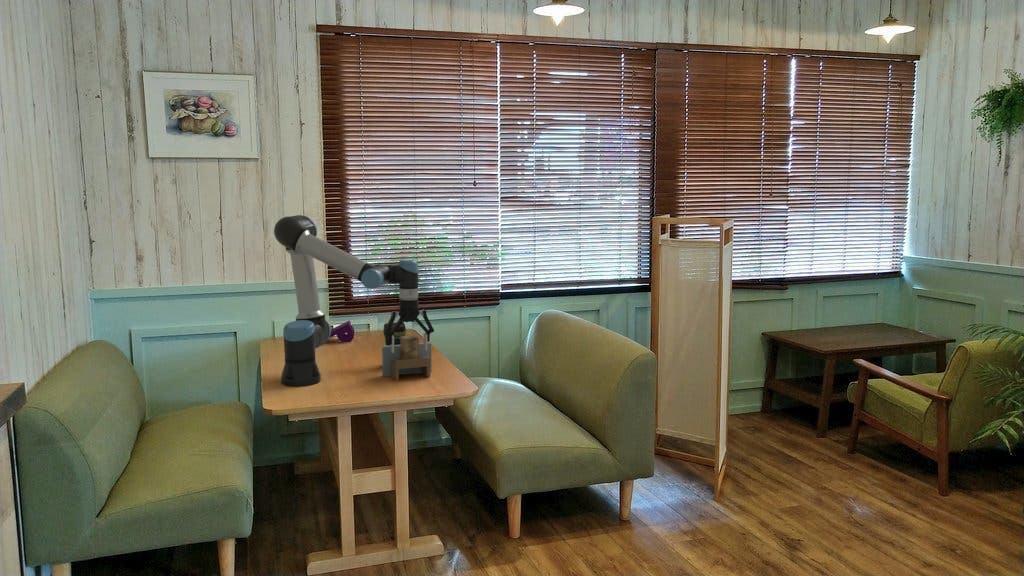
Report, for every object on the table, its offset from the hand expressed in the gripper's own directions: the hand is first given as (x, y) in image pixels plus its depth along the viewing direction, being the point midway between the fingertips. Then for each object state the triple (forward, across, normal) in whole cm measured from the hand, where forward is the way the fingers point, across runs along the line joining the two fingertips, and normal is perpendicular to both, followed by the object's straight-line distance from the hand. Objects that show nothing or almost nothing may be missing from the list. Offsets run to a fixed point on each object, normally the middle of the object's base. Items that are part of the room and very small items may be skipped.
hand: (409, 351), depth 314 cm
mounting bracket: (+11, -16, +82) cm, 85 cm away
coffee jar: (+11, -1, +21) cm, 23 cm away
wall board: (+10, 0, +1) cm, 10 cm away
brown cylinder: (+4, 0, 0) cm, 4 cm away
